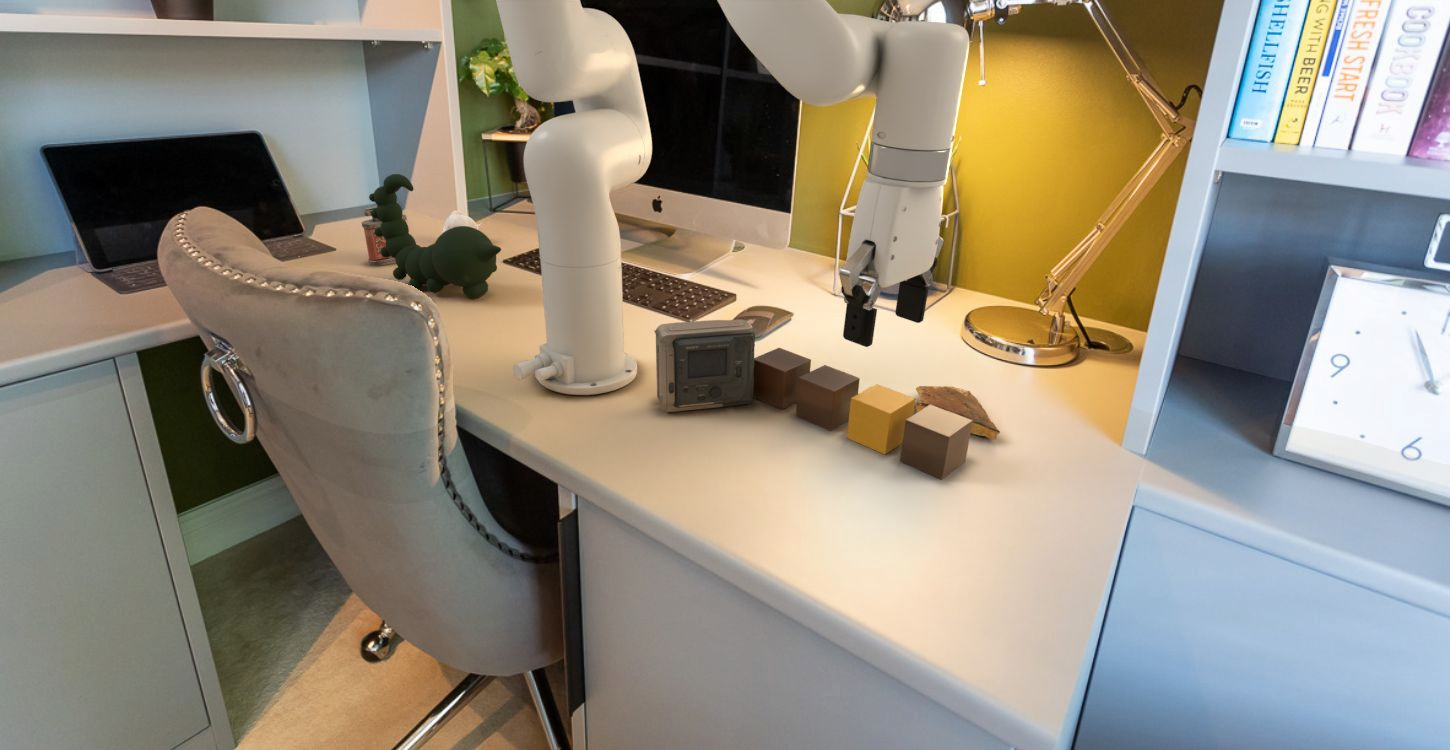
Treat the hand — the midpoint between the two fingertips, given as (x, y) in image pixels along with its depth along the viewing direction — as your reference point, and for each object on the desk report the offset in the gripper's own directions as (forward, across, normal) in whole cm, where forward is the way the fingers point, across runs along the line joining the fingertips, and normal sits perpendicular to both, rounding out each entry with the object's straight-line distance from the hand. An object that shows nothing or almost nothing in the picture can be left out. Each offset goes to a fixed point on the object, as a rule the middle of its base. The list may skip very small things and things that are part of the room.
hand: (883, 330), depth 82 cm
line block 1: (+13, 0, -13) cm, 18 cm away
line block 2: (+13, 0, -6) cm, 14 cm away
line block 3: (+13, 0, +8) cm, 15 cm away
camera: (+13, +8, -18) cm, 24 cm away
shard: (+13, -12, +5) cm, 18 cm away
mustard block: (+13, 0, +1) cm, 13 cm away
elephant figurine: (+15, -6, -97) cm, 98 cm away
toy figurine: (+15, +10, -75) cm, 77 cm away
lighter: (+15, +9, -96) cm, 98 cm away
